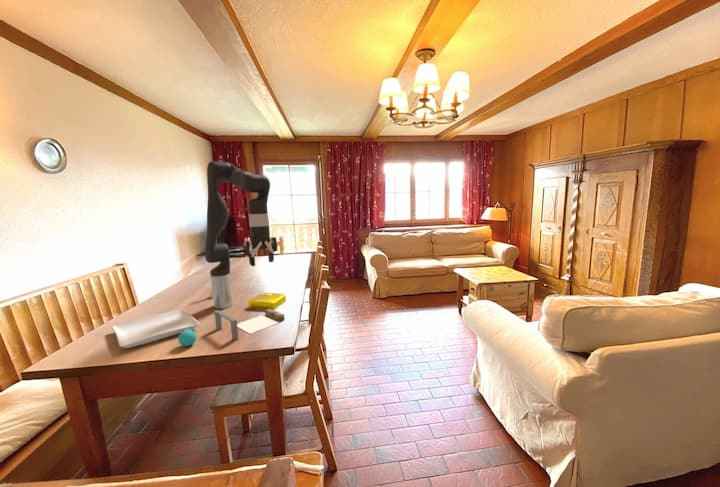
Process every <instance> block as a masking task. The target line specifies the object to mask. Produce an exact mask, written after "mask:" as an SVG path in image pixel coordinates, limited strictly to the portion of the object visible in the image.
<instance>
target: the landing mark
mask: <svg viewBox="0 0 720 487" xmlns="http://www.w3.org/2000/svg"><path fill="white" fill-rule="evenodd" d="M279 323H280V321H278V320H276V319H272V318H271V317H269V316H268V317H267V315H263V314H262V315H258V316H256V317H252V318H249V319H247V320H244V321H240V322H239V323H238V322H237V328H238V329H240V330H241V331H244V332H245V333H247V334H249V335H251V334H255V333H257V332H259V331H262V330H265V329H267V328H270V327H272V326H274V325H278V324H279Z"/></svg>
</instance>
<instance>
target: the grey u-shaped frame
mask: <svg viewBox="0 0 720 487" xmlns="http://www.w3.org/2000/svg"><path fill="white" fill-rule="evenodd" d="M222 318H224V319H226V320H227V321H229V322H230V330H231V339H232V340H233V341H238V340H239V332H238V331H239V330H238V329H239V328H238V327H237V324H238V320H237V319H236V318H234V317H232V316H230V315H228V314H226V313H225V312H222V311H221V310H219V309H216V310H214V321H215V329H216V330H218V331H220V330H223V326H222Z"/></svg>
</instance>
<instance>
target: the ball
mask: <svg viewBox="0 0 720 487" xmlns="http://www.w3.org/2000/svg"><path fill="white" fill-rule="evenodd" d="M178 335H179V336H178V338H177V339H178V340H177V341H178V343H179V344H180V346H182V347H191V345H193V344H195V342H196V340H197V334H196V332H195V331H194V330H193V329H192V330H186V331H183V332H182V333H181V334H178Z"/></svg>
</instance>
